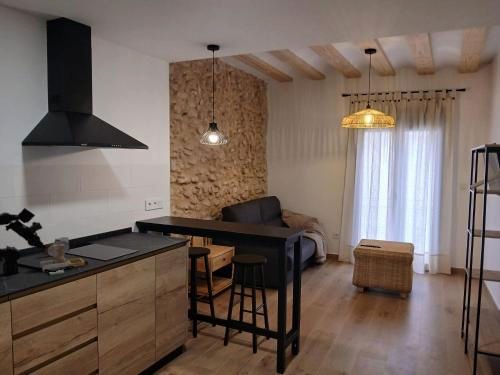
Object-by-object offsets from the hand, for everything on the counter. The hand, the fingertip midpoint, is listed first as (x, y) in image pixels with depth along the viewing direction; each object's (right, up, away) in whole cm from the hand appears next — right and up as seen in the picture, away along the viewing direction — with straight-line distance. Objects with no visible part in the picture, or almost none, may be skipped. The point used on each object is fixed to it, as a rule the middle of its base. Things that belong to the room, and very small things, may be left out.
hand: (44, 246), depth 219 cm
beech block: (+6, -13, +5) cm, 15 cm away
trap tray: (+13, -12, +11) cm, 21 cm away
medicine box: (-9, -9, +40) cm, 42 cm away
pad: (+9, -14, -5) cm, 17 cm away
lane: (+4, -13, +4) cm, 14 cm away
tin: (-7, -10, +30) cm, 33 cm away
